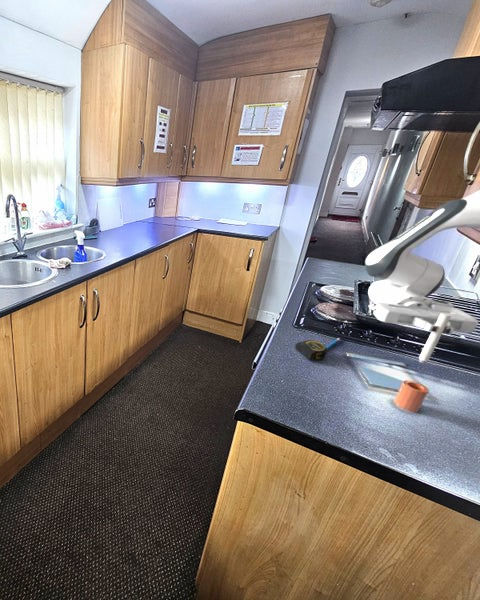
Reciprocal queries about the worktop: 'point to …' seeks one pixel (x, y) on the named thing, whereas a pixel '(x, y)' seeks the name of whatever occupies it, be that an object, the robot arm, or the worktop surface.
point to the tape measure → (311, 349)
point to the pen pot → (411, 396)
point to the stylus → (434, 337)
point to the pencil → (332, 343)
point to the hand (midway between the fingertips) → (441, 330)
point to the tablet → (381, 376)
